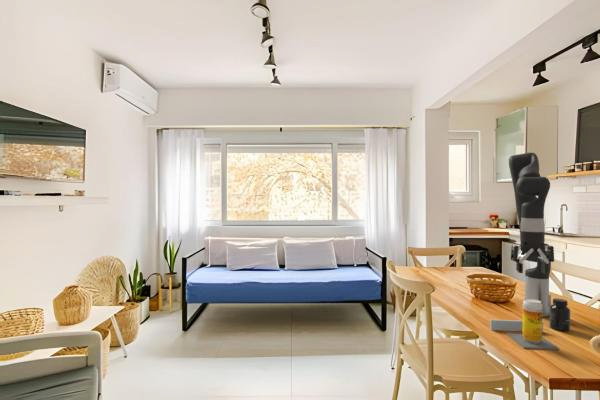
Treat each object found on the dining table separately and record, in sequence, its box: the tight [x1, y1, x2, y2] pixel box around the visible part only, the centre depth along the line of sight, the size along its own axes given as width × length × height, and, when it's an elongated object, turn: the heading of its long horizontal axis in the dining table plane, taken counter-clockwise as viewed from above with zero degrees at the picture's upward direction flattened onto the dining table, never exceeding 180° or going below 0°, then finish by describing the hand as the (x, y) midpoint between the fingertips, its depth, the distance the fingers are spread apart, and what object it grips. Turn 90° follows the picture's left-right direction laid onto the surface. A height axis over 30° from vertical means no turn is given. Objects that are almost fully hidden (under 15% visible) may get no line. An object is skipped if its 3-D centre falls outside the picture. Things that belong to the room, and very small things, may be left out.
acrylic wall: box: [489, 318, 544, 333], centre depth 139 cm, size 20×1×4 cm, turn 84°
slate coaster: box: [506, 332, 560, 351], centre depth 129 cm, size 12×12×1 cm
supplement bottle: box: [549, 298, 571, 332], centre depth 142 cm, size 7×7×12 cm
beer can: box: [521, 298, 543, 343], centre depth 129 cm, size 6×6×15 cm
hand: (532, 272), depth 129 cm, fingers open, 8 cm apart
